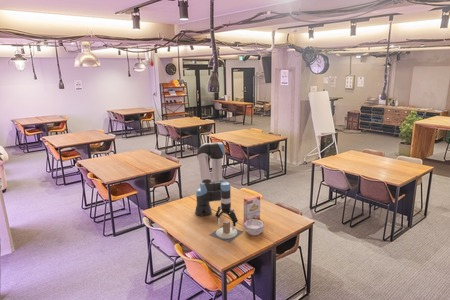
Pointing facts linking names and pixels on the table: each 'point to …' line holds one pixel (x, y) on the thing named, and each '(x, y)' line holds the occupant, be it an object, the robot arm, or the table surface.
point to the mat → (226, 239)
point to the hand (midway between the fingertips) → (226, 227)
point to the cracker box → (252, 207)
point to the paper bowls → (254, 227)
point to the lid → (226, 231)
